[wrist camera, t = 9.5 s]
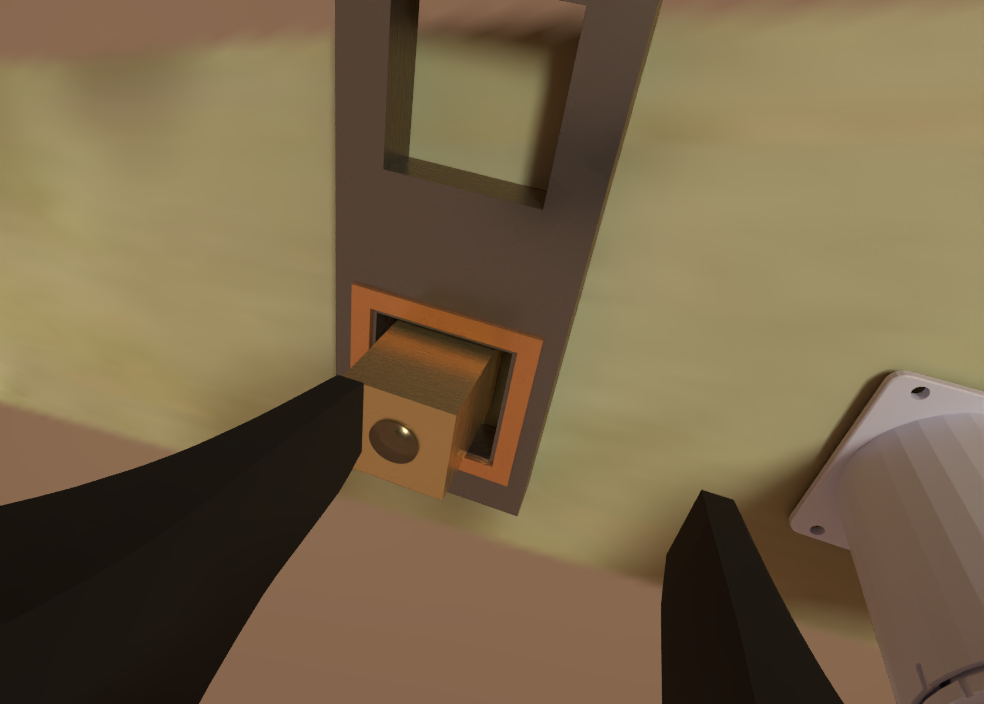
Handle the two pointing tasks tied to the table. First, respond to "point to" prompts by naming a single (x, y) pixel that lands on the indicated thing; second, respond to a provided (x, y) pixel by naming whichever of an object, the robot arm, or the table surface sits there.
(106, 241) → the table surface
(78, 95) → the table surface
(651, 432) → the table surface
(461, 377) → the tan square knob peg
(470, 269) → the grey slotted board
